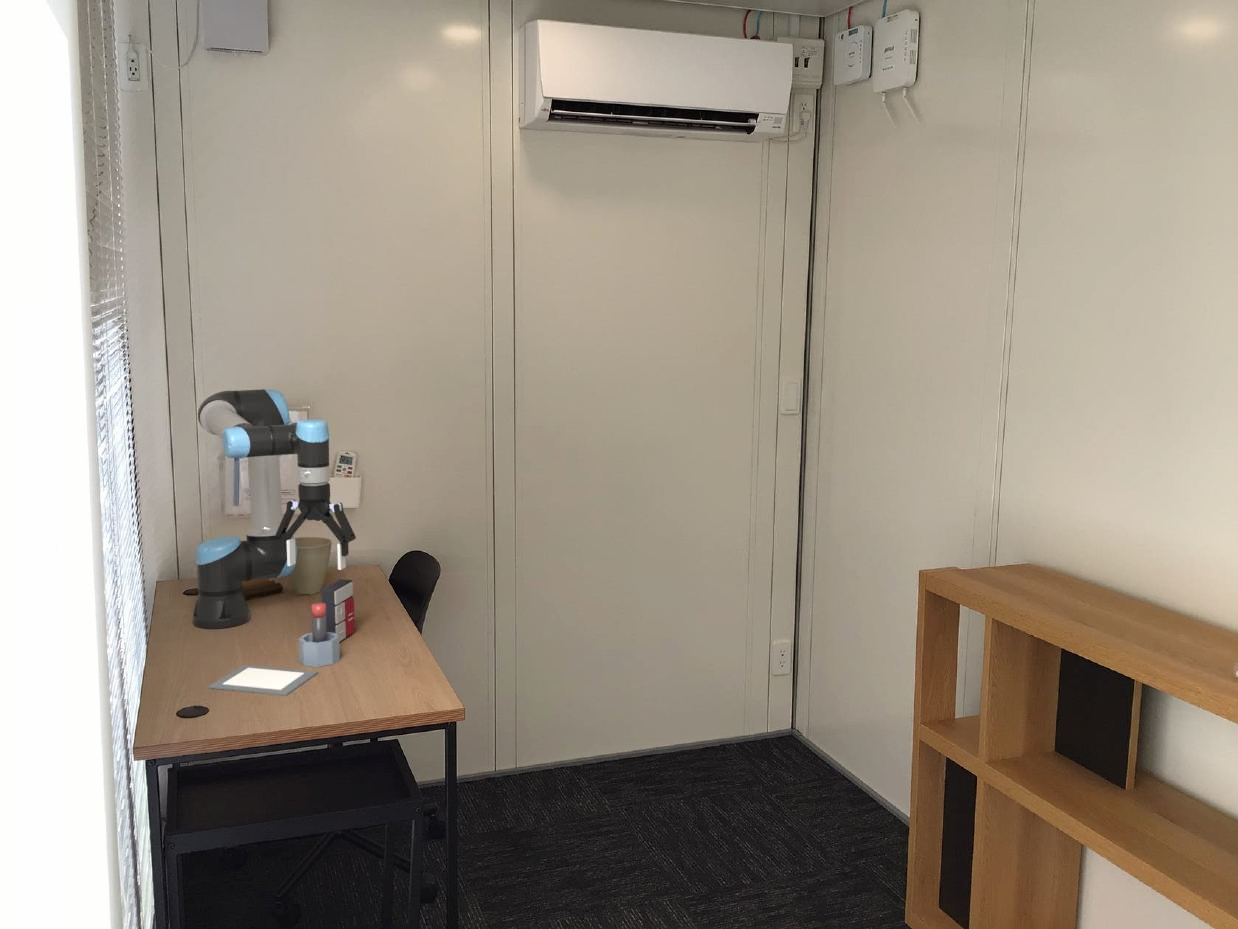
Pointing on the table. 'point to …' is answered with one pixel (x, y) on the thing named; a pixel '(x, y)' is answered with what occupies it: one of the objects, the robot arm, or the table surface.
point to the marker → (319, 622)
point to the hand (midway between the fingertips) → (316, 566)
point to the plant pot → (310, 564)
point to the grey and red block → (339, 608)
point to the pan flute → (260, 588)
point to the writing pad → (264, 680)
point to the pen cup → (319, 650)
